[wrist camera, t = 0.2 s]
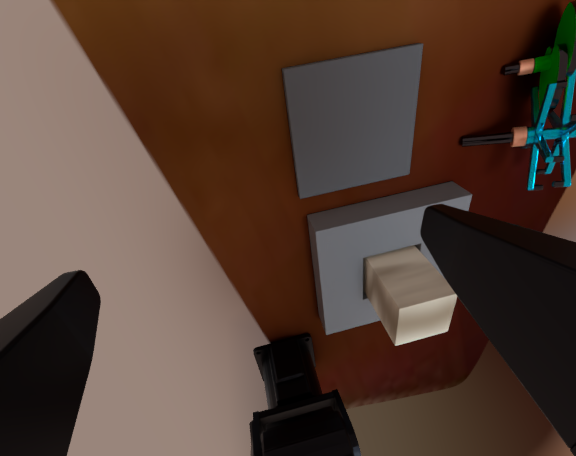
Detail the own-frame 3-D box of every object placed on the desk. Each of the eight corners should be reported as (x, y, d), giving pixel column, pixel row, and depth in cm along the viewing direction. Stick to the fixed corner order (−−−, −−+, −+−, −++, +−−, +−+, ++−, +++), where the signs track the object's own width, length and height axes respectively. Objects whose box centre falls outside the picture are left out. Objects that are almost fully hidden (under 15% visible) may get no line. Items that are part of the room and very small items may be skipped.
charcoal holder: (431, 285, 34) (445, 302, 32) (318, 315, 33) (326, 334, 31) (452, 181, 26) (472, 194, 24) (307, 215, 25) (315, 231, 23)
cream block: (398, 266, 31) (447, 331, 25) (356, 277, 31) (395, 346, 24) (401, 231, 28) (458, 293, 22) (356, 242, 28) (399, 309, 22)
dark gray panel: (405, 171, 25) (409, 174, 24) (298, 195, 24) (300, 198, 23) (417, 43, 20) (423, 43, 19) (281, 68, 19) (283, 69, 18)
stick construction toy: (553, 177, 26) (589, 204, 19) (458, 181, 29) (461, 205, 22) (577, 10, 22) (633, -27, 15) (464, 36, 25) (470, 14, 18)
